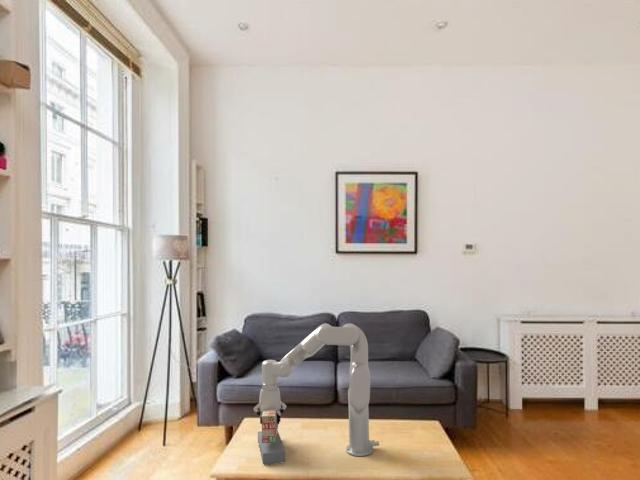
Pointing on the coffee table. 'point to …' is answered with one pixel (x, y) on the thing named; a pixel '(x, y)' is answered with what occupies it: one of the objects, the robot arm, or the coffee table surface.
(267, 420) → the stack of blocks
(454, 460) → the coffee table surface
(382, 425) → the coffee table surface
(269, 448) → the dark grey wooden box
